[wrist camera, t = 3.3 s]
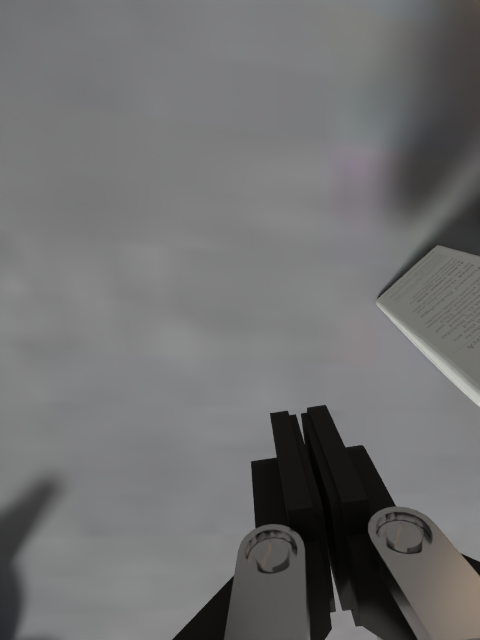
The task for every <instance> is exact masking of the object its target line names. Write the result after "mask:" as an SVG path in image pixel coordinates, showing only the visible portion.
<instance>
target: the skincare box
mask: <svg viewBox="0 0 480 640" xmlns="http://www.w3.org/2000/svg"><path fill="white" fill-rule="evenodd" d="M376 304H377V305H378V307H379V308H380V309H381V310H382V311H383V312H384V313H385V314H386V315H387V316H388V317H389V318H390V319H391V320H392V321H393V323H394V324H395V325H396V326H397V327H398V328H399V329H400V330H401V331H402V332H403V333H404V334H405V335H406V336H407V337H408V338H409V339H410V340H411V342H412V343H413V344H414V345H415V346H416V347H417V348H418V349H419V350H420V351H421V352H422V353H423V354H424V355H425V356H426V357H427V358H428V359H429V360H430V361H431V362H432V363H433V364H434V365H435V366H436V367H437V368H438V369H439V370H440V371H441V372H442V373H443V374H444V375H445V376H446V377H448V378H449V379H450V380H451V381H452V382H453V383H454V384H455V385H456V386H457V387H458V388H459V389H460V390H461V391H463V392H464V393H465V394H466V395H467V396H468V397H469V398H470V399H471V400H472V401H474V402H475V403H476V404H477V405H478V406H479V407H480V256H477V255H473V254H469V253H466V252H463V251H458V250H454V249H451V248H447V247H444V246H440V245H437V246H436V247H435V248H433V249H432V250H431V251H430V252H429V253H428V254H426V255H425V256H424V257H423V258H422V259H421V260H419V261H418V262H417V263H416V264H415V265H414V266H413V267H412V268H410V269H409V270H408V271H407V272H406V273H405V274H404V275H403V276H402V277H401V278H399V279H398V280H397V281H396V282H395V283H394V284H393V285H392V286H391V287H390V288H389V289H388V290H387V291H386V292H384V293H383V294H382V295H381V296H380V297H379V298H378V299H377V300H376Z"/></svg>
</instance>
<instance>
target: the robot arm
mask: <svg viewBox="0 0 480 640" xmlns="http://www.w3.org/2000/svg"><path fill="white" fill-rule="evenodd" d="M270 416H271V423H272V429H273V436H274V442H275V449H276V455H277V458H271V459H264V460H258V461H251V468H252V483H253V497H254V512H255V526H256V529H254V530H253V531H251V532H250V533H249V534H247V535H246V536H245V538H244V539H243V540H242V542H241V544H240V547H239V550H238V555H237V561H236V568H235V574H234V576H233V577H232V578H231V579H230V580H229V581H228V582H227V583H226V584H225V585H224V586H223V587H222V588H221V590H220V591H219V592H218V593H217V594H216V595H215V596H214V597H213V598H212V599H211V600H210V601H209V602H208V603H207V604H206V605H205V606H204V607H203V608H202V609H201V610H200V611H199V612H198V613H197V615H196V616H195V617H194V618H193V619H192V620H191V621H190V622H189V623H188V624H187V625H186V626H185V627H184V628H183V629H182V630H181V631H180V632H179V633H178V634H177V635H176V636H175V637H174V639H173V640H325V638H326V637H327V635H328V634H329V632H330V631H331V629H332V626H331V618H330V612H336V609H335V601H334V593H333V585H332V576H331V570H332V574H333V577H334V581H335V585H336V589H337V592H338V596H339V600H340V603H341V607H342V610H343V611H345V610H351V612H352V615H353V619H354V622H355V626H363V627H365V628H366V629H368V630H369V631H371V632H372V633H374V634H375V635H377V639H378V640H480V562H479V561H477V560H474V559H472V558H470V557H468V556H465V555H463V554H461V553H460V552H459V551H458V550H457V549H456V548H455V546H454V545H453V544H452V543H451V542H450V541H449V539H448V538H447V537H446V536H445V535H444V534H443V532H442V531H441V530H440V529H439V528H438V526H437V525H436V524H435V523H434V522H433V521H432V520H431V519H430V518H429V517H427V516H426V515H424V514H422V513H421V512H419V511H417V510H413V509H410V508H407V507H396V505H395V504H394V502H393V500H392V498H391V496H390V494H389V492H388V490H387V489H386V487H385V485H384V483H383V481H382V479H381V477H380V476H379V474H378V472H377V470H376V468H375V466H374V464H373V462H372V461H371V459H370V457H369V455H368V453H367V451H366V449H365V448H364V446H362V445H359V446H352V447H346V448H345V446H344V444H343V441H342V439H341V437H340V435H339V433H338V431H337V428H336V426H335V424H334V422H333V420H332V417H331V415H330V413H329V411H328V409H327V407H326V405H322V406H315V407H309V408H307V413H302V414H301V418H302V426H303V434H304V441H305V444H304V441H303V437H302V434H301V430H300V427H299V424H298V420H297V417H296V414H295V415H289V413H288V411H282V412H276V413H270ZM330 566H331V568H330Z"/></svg>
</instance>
